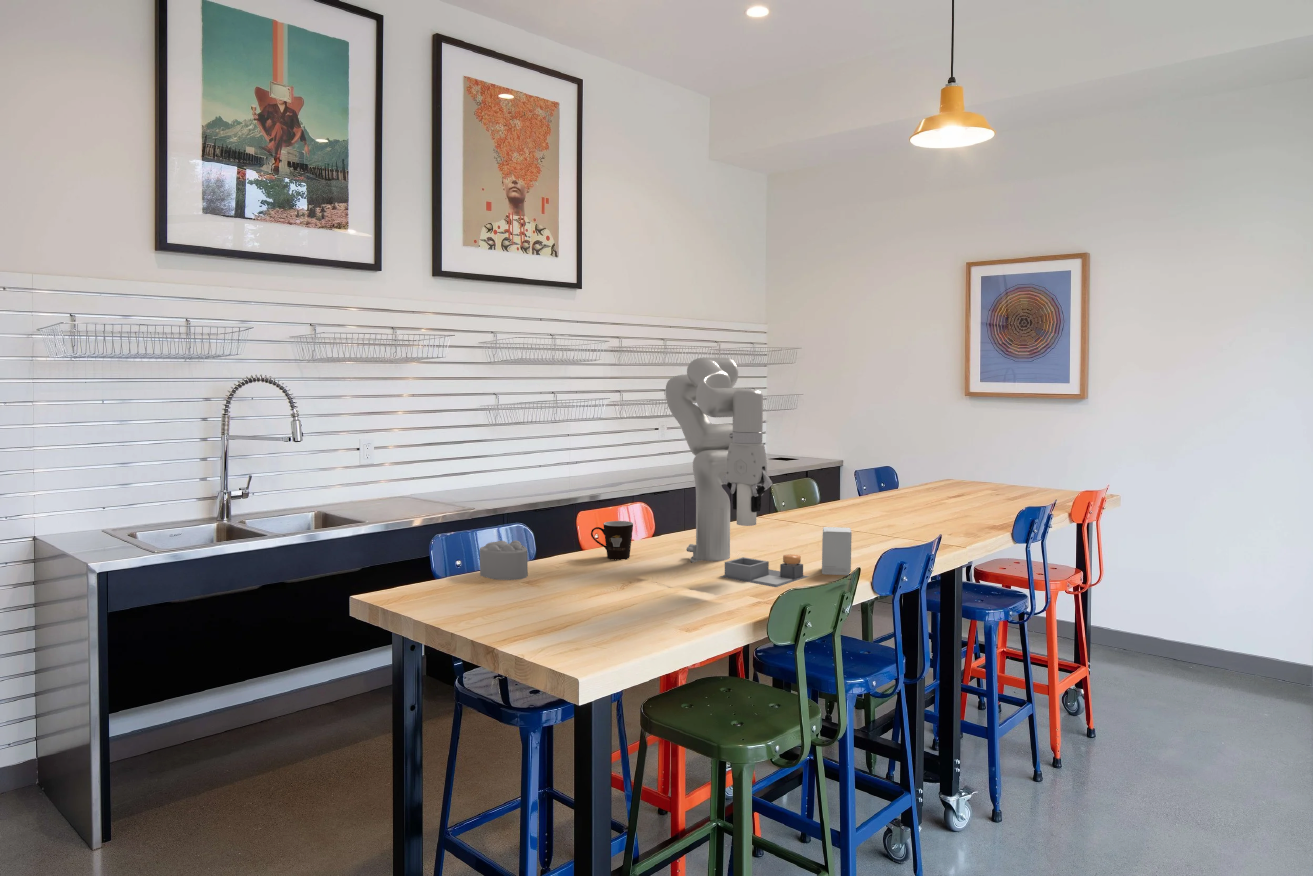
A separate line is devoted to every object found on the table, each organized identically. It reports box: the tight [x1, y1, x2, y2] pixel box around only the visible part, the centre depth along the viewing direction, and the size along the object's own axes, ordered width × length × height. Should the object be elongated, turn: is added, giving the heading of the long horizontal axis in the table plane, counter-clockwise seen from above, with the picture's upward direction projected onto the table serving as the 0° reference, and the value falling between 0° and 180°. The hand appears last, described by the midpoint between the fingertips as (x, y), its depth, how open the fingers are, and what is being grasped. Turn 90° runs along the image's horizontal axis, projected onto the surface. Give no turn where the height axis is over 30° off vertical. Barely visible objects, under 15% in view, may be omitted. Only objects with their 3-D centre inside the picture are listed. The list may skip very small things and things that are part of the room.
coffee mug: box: [590, 520, 634, 561], centre depth 248 cm, size 12×9×10 cm
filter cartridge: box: [736, 483, 757, 527], centre depth 218 cm, size 5×5×14 cm
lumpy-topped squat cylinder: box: [479, 539, 529, 581], centre depth 226 cm, size 10×13×9 cm
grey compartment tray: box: [719, 557, 809, 588], centre depth 218 cm, size 17×15×5 cm
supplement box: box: [821, 526, 853, 576], centre depth 223 cm, size 7×7×13 cm
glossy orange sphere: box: [782, 553, 802, 566], centre depth 218 cm, size 4×4×4 cm
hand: (746, 509), depth 218 cm, fingers closed on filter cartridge, 5 cm apart
